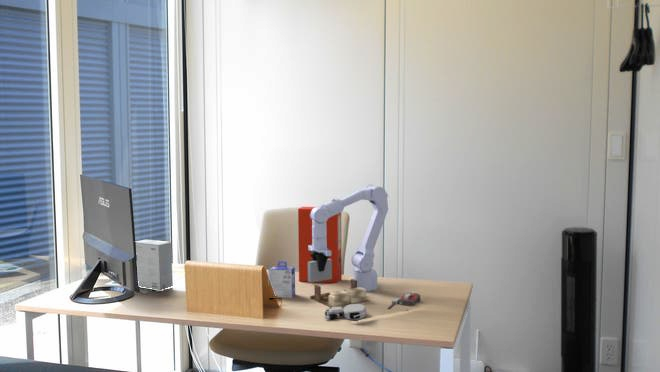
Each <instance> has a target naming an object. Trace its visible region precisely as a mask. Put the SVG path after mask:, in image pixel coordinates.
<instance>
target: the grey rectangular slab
mask: <svg viewBox="0 0 660 372" xmlns="http://www.w3.org/2000/svg"><path fill="white" fill-rule="evenodd" d="M329 279H332V259H327V262H326V265H325V269H324V271H322V272H319V270H318V262H317V260H316V261H310V262H308V282H307V283H317V282H316V281H322V280H329Z"/></svg>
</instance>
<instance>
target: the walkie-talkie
mask: <svg viewBox="0 0 660 372" xmlns="http://www.w3.org/2000/svg"><path fill="white" fill-rule="evenodd" d="M420 302H421V294H419V293H416V292H415V293H414V292H406V293H404V294H403V295H402V296H401V297H396V298H394V299H392V300H391V304H390V306H388V307H387V310H391V309H392V308H393V307H394V306H395V305H401V306H407V307H412V306H413V307H414V306H415V305H416V304H419V303H420Z"/></svg>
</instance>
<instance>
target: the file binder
mask: <svg viewBox="0 0 660 372" xmlns="http://www.w3.org/2000/svg"><path fill="white" fill-rule="evenodd" d="M315 207H316V206H302V207H300V208H298V209H297V218H298V220H297V224H298V225H297V226H298V229H297V230H298V237H297V238H298V281H299V282H307V283H309V282H308V262H310V261H313V259H312V257H311V256H310V253H313V251H310V250H308V245H312V219H311V217H310V214H311V211H312V209H313V208H315ZM326 231H327V248H328V249H329V250H330V251H331V256H329V258H328V259H332V279H329V280H322V281H316V282H315V283H327V284H337V283H340V282H341V281H342V279H343V278H342V277H343V276H342V274H343V273H342V267H343V265H342V212H340V213H338V214H336V215H334V216H332V217H330V218H328V220H327V221H326Z"/></svg>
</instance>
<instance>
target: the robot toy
mask: <svg viewBox="0 0 660 372" xmlns="http://www.w3.org/2000/svg"><path fill="white" fill-rule="evenodd" d="M365 303H366V302H362V303H357V304H350V305H346V306H344V307H343V306H341V307H328V308H326V309H325V312H324V314H325V315H324V319H325V320H330V321H331V320H335V319H341V318H345V319H347V320H350V321H351V320H352V321H353V322H358V321H359V320H361V319H364V318H365V316H367V307H366V306H365V305H366V304H365Z"/></svg>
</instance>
